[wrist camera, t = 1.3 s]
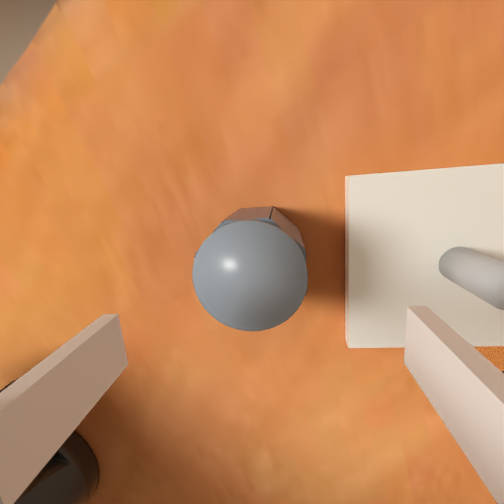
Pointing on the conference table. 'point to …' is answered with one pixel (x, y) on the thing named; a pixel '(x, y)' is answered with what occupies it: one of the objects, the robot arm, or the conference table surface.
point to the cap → (252, 270)
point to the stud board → (425, 253)
